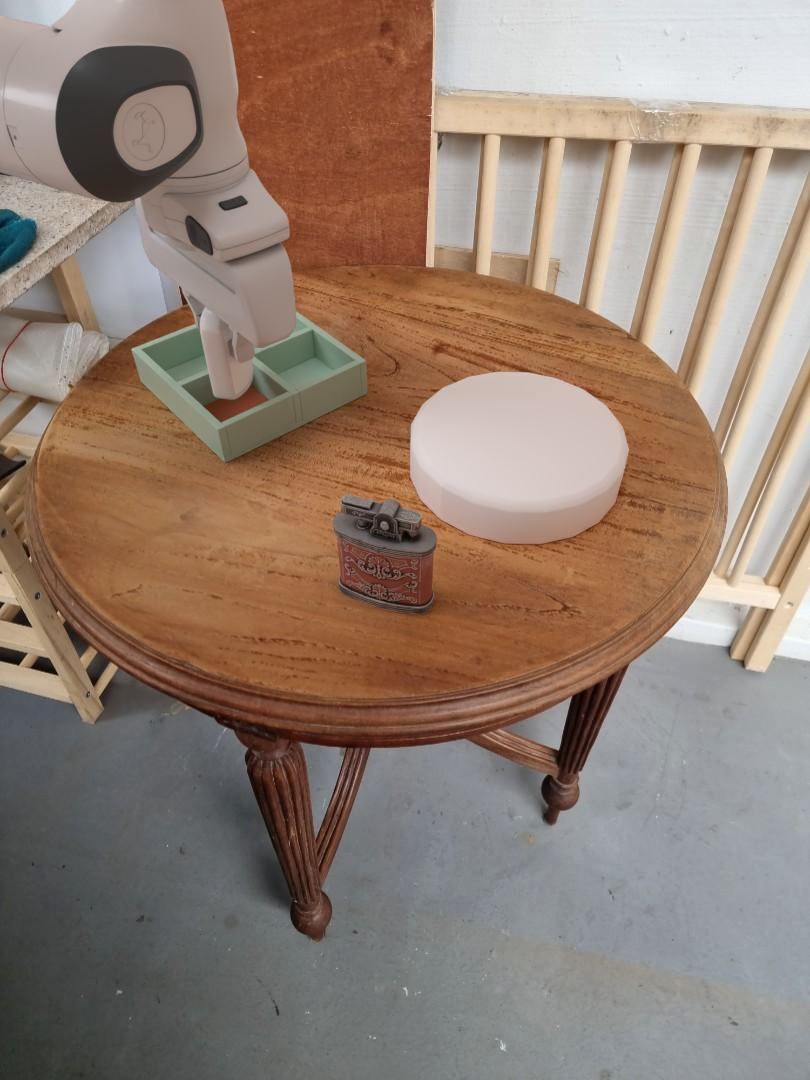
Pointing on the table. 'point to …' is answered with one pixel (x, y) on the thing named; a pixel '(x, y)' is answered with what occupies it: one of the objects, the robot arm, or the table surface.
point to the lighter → (385, 555)
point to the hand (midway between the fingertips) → (225, 343)
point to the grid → (253, 386)
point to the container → (517, 457)
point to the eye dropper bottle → (223, 359)
